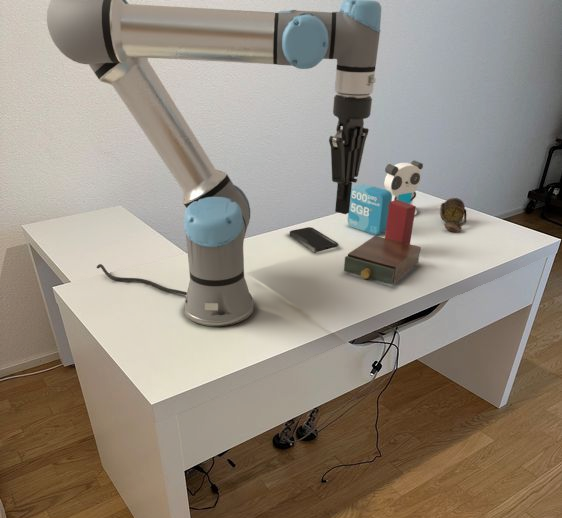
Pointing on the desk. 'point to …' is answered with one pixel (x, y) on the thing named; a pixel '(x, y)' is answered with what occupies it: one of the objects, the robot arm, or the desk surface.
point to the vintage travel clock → (453, 214)
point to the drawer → (369, 270)
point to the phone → (313, 239)
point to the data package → (369, 208)
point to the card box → (400, 221)
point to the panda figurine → (403, 181)
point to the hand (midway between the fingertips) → (342, 212)
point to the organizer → (388, 254)
